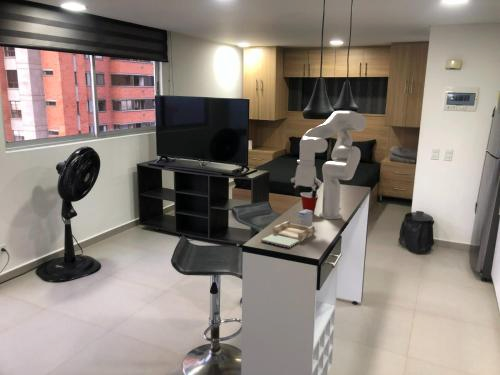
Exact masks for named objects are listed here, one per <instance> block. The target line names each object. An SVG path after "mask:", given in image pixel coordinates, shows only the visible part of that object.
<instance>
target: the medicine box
mask: <svg viewBox="0 0 500 375" xmlns="http://www.w3.org/2000/svg"><path fill="white" fill-rule="evenodd" d="M313 217H314V215H313V211H311V210H307V209H305V210H303V209H302V210H300V211H298V212H297V219H296V220H297V221H296V222H297V225H302V226H307V227H310V226H313Z"/></svg>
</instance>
